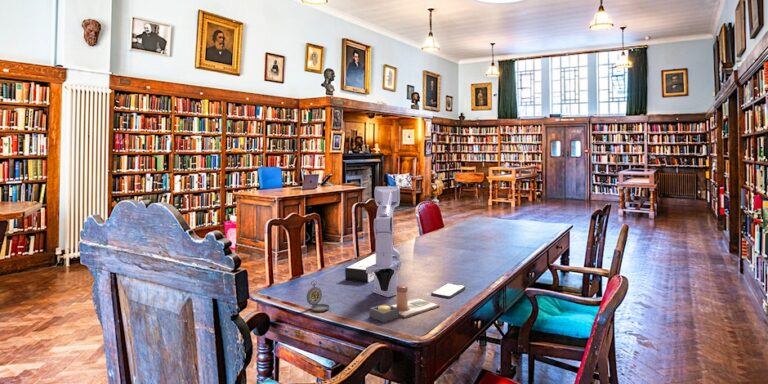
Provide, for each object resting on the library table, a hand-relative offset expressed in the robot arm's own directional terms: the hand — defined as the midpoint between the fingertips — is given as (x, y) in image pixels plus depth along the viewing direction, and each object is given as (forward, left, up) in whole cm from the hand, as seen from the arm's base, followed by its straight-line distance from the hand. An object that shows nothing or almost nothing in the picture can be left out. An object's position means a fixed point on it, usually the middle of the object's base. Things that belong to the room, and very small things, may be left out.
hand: (384, 290), depth 155 cm
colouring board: (0, +13, -9) cm, 16 cm away
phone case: (-4, +39, -10) cm, 40 cm away
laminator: (-49, +35, -10) cm, 62 cm away
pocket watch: (-23, -12, -10) cm, 28 cm away
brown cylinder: (0, +8, -8) cm, 12 cm away
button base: (0, 0, -9) cm, 9 cm away
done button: (0, 0, -9) cm, 9 cm away
